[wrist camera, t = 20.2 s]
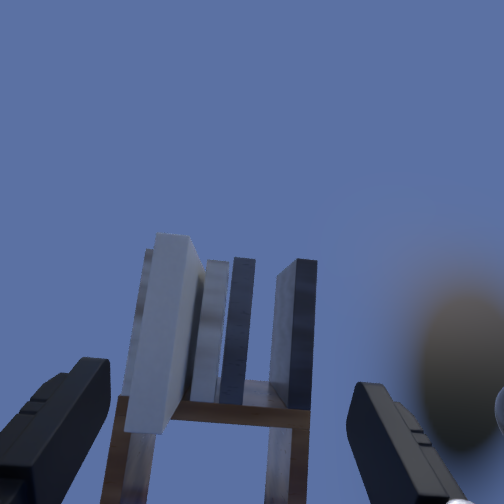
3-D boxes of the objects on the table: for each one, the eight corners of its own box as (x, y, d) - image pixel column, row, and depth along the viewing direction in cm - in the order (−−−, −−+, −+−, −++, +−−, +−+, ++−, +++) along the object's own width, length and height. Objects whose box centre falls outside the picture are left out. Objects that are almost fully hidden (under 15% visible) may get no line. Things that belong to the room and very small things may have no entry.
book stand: (287, 920, 20) (317, 260, 29) (27, 924, 19) (144, 241, 28) (264, 698, 32) (291, 277, 41) (103, 694, 31) (168, 264, 40)
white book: (161, 435, 18) (189, 235, 21) (123, 432, 18) (156, 231, 21) (195, 375, 38) (207, 276, 40) (177, 373, 37) (190, 274, 40)
